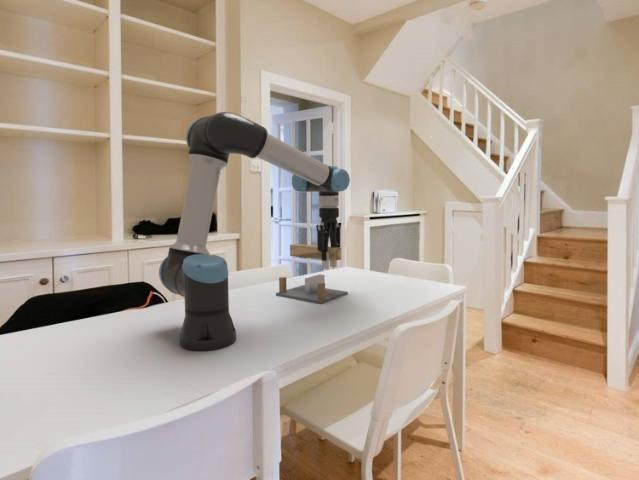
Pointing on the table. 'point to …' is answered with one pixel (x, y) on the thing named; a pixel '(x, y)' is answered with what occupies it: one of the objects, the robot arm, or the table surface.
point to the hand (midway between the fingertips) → (329, 267)
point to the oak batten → (314, 252)
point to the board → (317, 297)
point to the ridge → (313, 283)
